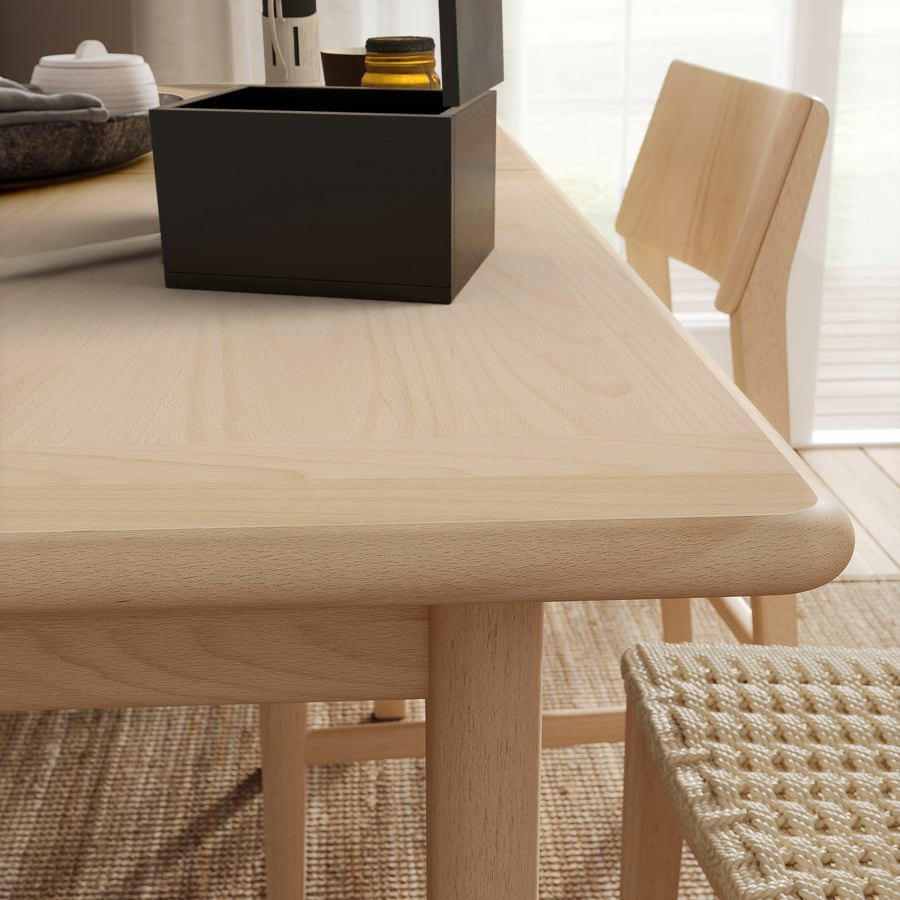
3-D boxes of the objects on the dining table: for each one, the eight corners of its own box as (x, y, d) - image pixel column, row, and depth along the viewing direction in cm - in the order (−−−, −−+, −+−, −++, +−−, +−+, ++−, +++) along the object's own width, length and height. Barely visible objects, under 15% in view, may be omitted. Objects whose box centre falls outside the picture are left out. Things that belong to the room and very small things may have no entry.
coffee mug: (351, 157, 111) (348, 46, 107) (435, 163, 108) (434, 48, 104) (290, 177, 101) (284, 55, 97) (380, 184, 98) (377, 58, 94)
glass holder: (330, 87, 171) (326, -24, 165) (306, 97, 158) (301, -22, 152) (272, 86, 172) (266, -24, 166) (244, 96, 159) (236, -22, 153)
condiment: (352, 206, 89) (347, 39, 84) (366, 186, 97) (362, 33, 92) (448, 208, 89) (448, 40, 84) (454, 187, 96) (455, 33, 92)
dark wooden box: (165, 287, 67) (147, 109, 63) (251, 236, 80) (241, 84, 76) (451, 304, 64) (451, 117, 60) (494, 247, 76) (497, 89, 73)
